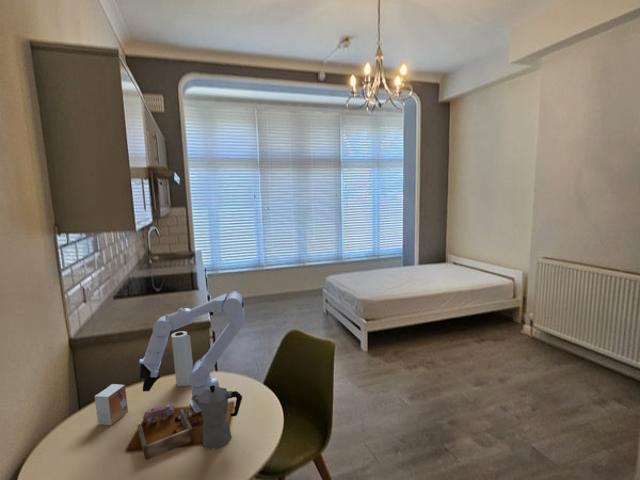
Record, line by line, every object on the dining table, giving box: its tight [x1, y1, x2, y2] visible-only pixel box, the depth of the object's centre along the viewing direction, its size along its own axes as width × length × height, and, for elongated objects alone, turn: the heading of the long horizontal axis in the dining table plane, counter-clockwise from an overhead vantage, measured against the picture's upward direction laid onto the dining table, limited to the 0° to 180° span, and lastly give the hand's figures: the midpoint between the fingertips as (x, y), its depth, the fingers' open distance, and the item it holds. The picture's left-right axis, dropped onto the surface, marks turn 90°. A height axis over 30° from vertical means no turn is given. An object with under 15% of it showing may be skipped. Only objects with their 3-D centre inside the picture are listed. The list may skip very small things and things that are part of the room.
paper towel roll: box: [171, 330, 194, 387], centre depth 143 cm, size 7×6×21 cm
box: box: [137, 408, 195, 461], centre depth 112 cm, size 14×13×4 cm
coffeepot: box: [191, 385, 243, 450], centre depth 109 cm, size 15×9×18 cm, turn 94°
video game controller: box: [142, 404, 175, 424], centre depth 121 cm, size 10×5×7 cm, turn 118°
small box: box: [94, 383, 129, 426], centre depth 123 cm, size 8×6×10 cm
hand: (144, 384), depth 125 cm, fingers open, 7 cm apart
